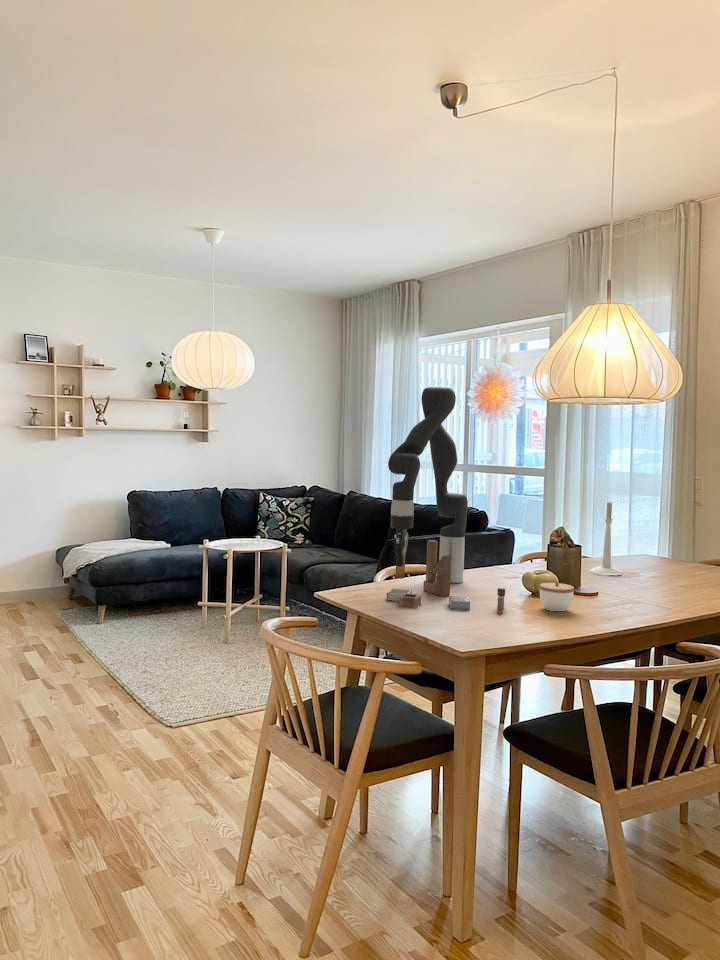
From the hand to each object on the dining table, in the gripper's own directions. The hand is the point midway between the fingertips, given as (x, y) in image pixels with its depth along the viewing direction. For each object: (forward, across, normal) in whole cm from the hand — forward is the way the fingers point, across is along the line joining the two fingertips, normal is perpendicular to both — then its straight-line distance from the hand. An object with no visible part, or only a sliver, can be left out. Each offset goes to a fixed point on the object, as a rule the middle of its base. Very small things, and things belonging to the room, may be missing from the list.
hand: (400, 565), depth 248 cm
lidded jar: (+12, -4, +50) cm, 52 cm away
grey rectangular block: (+12, +4, +20) cm, 24 cm away
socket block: (+11, +7, +5) cm, 14 cm away
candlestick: (+11, -81, +72) cm, 108 cm away
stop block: (+11, +4, +34) cm, 36 cm away
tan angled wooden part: (+12, -14, +10) cm, 21 cm away
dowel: (+4, 0, 0) cm, 4 cm away
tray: (+11, 0, 0) cm, 11 cm away
